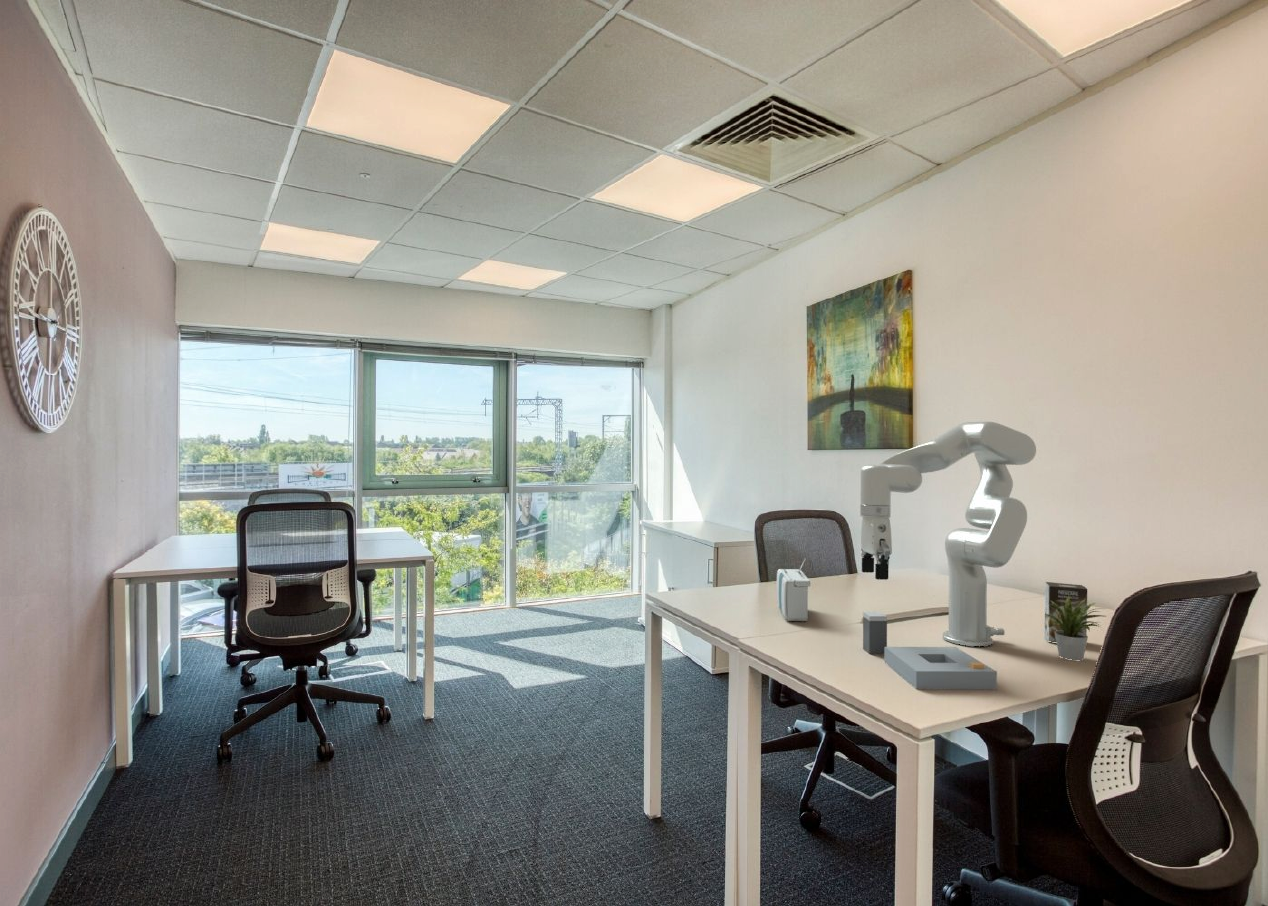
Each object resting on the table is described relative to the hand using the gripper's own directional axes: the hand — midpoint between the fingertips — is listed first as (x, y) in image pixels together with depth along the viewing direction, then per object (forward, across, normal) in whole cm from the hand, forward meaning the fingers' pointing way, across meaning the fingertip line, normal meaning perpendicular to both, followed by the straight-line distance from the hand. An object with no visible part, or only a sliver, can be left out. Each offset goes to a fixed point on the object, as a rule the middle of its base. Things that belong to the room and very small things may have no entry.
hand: (874, 575), depth 169 cm
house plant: (+20, -6, -48) cm, 53 cm away
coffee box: (+20, +9, -57) cm, 61 cm away
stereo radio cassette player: (+20, +39, +12) cm, 46 cm away
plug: (+20, 0, 0) cm, 20 cm away
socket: (+20, -18, -8) cm, 28 cm away
